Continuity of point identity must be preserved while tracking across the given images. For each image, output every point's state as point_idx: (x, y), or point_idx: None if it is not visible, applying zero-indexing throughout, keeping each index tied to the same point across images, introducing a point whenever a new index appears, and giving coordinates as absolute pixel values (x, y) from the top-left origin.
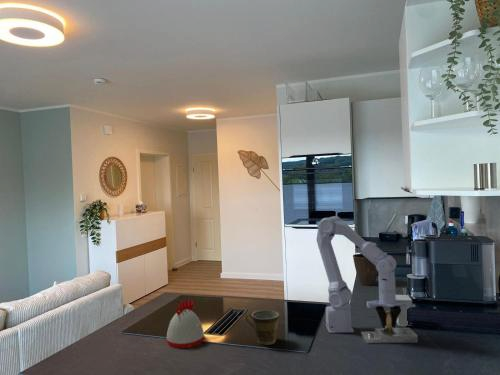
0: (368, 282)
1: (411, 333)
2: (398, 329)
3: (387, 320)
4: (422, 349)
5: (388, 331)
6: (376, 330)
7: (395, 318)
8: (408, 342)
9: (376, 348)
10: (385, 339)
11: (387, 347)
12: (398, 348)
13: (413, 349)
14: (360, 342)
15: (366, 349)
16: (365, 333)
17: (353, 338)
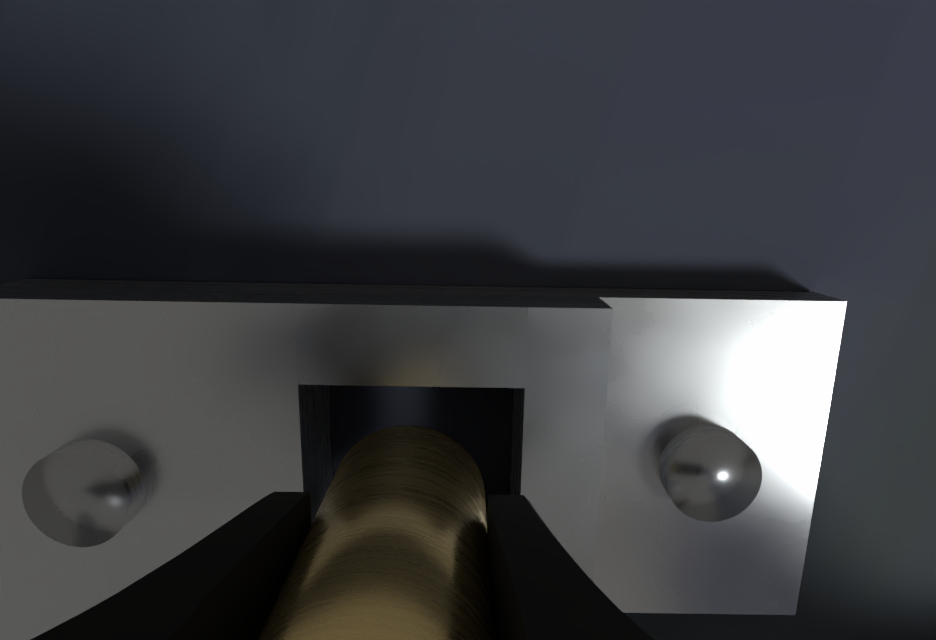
0: None
1: (19, 405)
2: None
3: (425, 590)
4: (21, 10)
5: (430, 438)
6: (593, 566)
7: (146, 613)
8: (168, 282)
9: (735, 94)
10: (527, 295)
11: (549, 123)
12: (390, 73)
13: (165, 19)
14: (885, 332)
15: (908, 64)
16: (752, 550)
17: (924, 476)
